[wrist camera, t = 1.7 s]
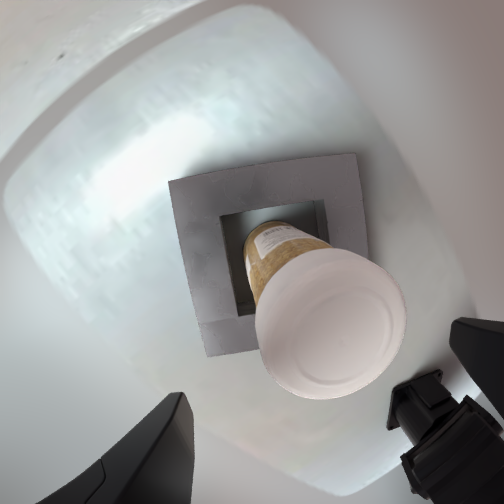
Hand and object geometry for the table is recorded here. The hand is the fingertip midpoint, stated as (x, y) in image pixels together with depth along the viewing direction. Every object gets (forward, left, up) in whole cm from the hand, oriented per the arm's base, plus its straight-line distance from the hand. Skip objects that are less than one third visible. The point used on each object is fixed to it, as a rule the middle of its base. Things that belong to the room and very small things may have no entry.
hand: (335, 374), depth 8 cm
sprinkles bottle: (+1, 0, -14) cm, 14 cm away
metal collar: (+1, 0, -13) cm, 13 cm away
